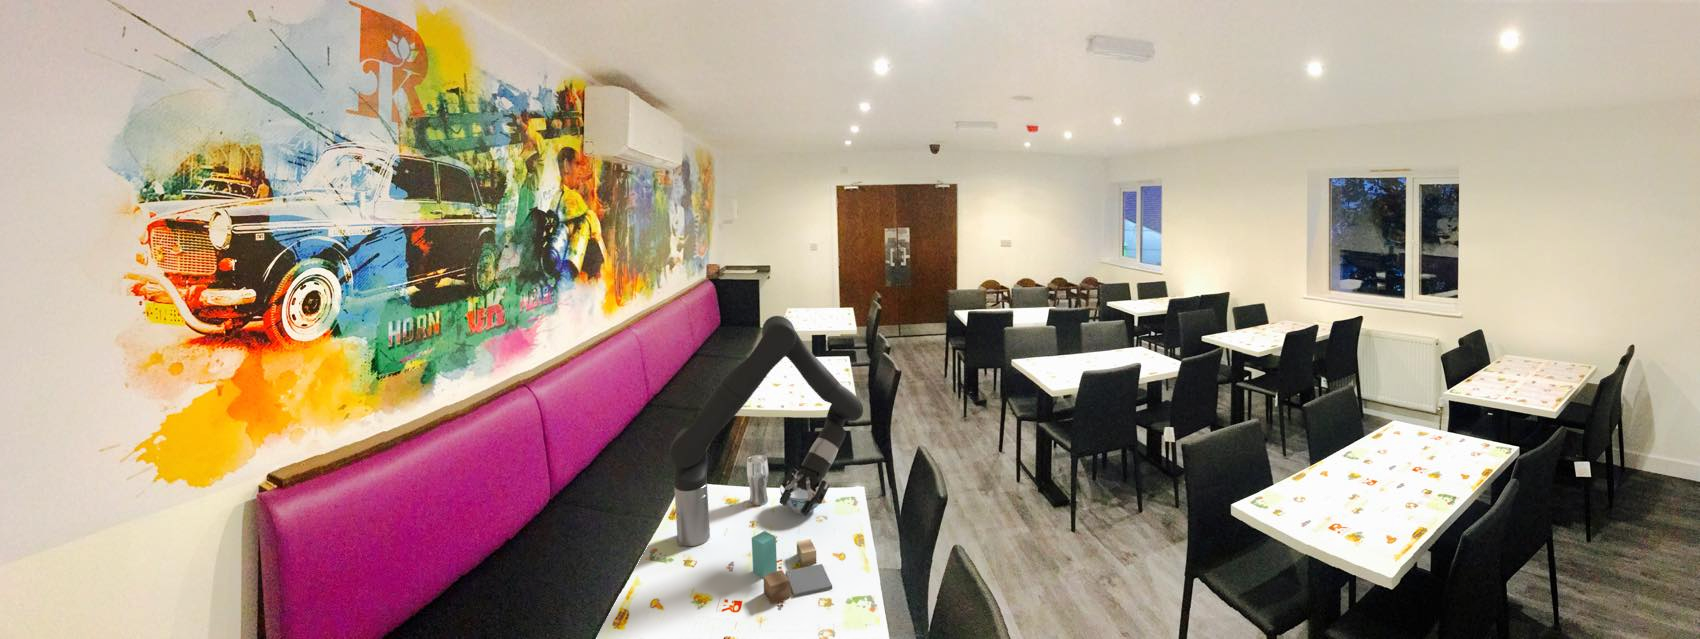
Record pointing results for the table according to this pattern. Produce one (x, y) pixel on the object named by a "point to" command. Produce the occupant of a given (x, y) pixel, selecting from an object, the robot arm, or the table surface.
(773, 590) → the walnut cube
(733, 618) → the table surface
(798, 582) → the coaster
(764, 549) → the teal block
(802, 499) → the chinaware
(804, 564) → the oak block
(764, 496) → the beer glass
